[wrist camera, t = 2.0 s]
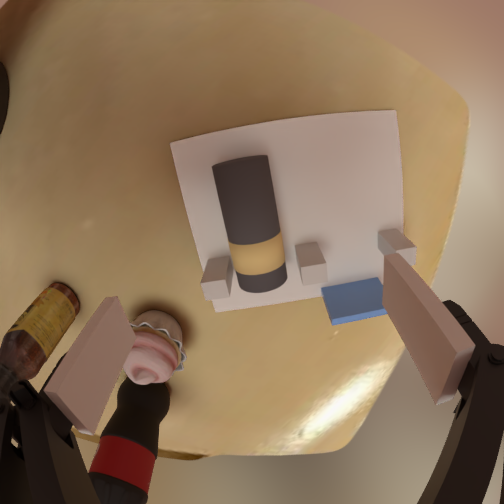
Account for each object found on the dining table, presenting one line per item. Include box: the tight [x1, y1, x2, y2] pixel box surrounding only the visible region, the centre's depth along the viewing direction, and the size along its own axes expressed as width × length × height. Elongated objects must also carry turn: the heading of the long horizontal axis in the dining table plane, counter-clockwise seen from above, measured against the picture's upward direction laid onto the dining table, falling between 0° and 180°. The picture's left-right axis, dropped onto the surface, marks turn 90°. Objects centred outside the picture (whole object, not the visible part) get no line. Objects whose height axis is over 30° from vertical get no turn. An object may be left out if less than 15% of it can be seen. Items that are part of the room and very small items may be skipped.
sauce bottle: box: [0, 283, 79, 402], centre depth 27 cm, size 7×6×20 cm
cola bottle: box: [88, 377, 170, 504], centre depth 29 cm, size 8×8×30 cm
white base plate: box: [170, 110, 417, 325], centre depth 28 cm, size 20×23×7 cm
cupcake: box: [123, 310, 187, 385], centre depth 33 cm, size 9×9×10 cm
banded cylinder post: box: [212, 155, 288, 293], centre depth 28 cm, size 12×5×5 cm, turn 11°
